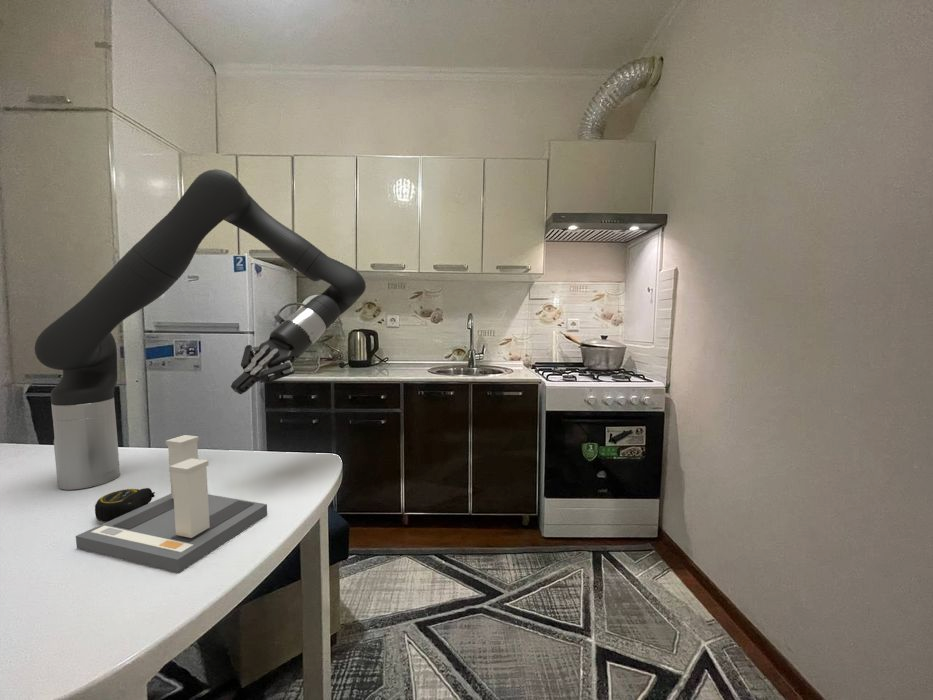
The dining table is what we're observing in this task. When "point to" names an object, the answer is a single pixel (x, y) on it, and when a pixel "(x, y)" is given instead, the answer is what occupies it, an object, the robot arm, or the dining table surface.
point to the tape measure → (121, 503)
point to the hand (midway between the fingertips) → (235, 390)
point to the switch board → (169, 533)
